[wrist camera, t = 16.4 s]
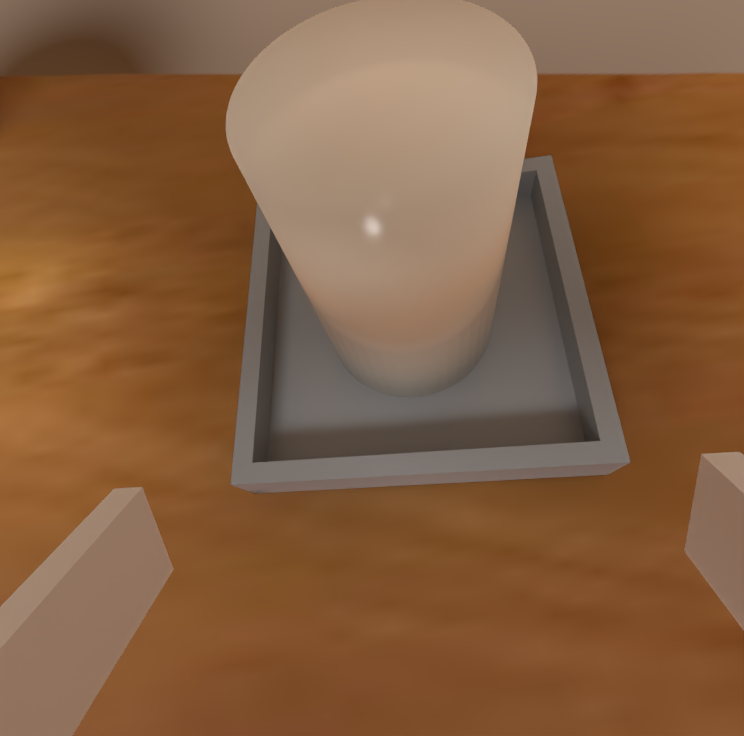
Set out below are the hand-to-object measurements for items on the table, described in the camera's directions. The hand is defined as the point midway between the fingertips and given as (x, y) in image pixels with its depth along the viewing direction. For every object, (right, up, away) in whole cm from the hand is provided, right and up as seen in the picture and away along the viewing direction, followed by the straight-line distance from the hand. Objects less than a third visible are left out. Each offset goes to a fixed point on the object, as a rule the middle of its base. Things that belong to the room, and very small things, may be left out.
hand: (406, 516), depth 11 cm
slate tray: (+1, +6, +16) cm, 17 cm away
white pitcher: (+1, +7, +15) cm, 17 cm away
